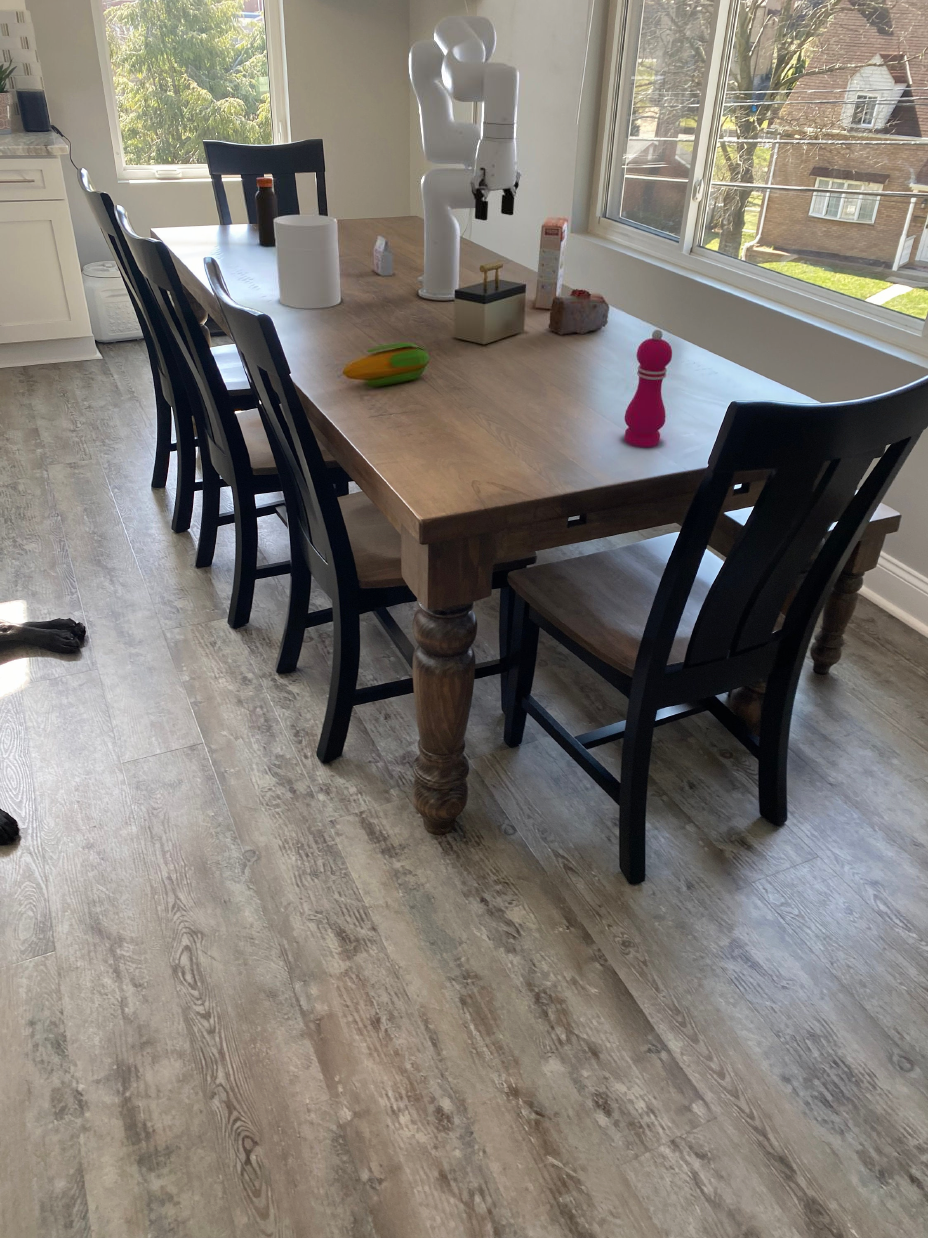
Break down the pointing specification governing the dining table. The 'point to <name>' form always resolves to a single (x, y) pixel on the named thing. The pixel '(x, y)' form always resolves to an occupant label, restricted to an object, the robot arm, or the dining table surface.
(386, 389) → the dining table surface
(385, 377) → the corn
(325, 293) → the canister
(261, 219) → the bottle
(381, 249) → the milk carton
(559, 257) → the cracker box
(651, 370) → the pepper mill
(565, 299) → the food item
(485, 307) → the box
